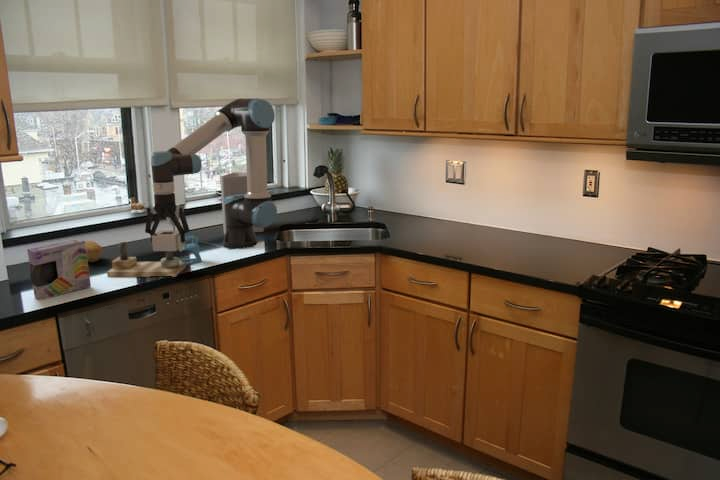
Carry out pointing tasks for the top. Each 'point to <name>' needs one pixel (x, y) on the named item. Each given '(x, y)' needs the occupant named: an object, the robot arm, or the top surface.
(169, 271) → the board
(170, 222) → the chalice
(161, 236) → the collar
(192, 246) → the chair
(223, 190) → the cream rectangular carton
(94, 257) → the potato
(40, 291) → the cake pan box
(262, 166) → the robot arm
